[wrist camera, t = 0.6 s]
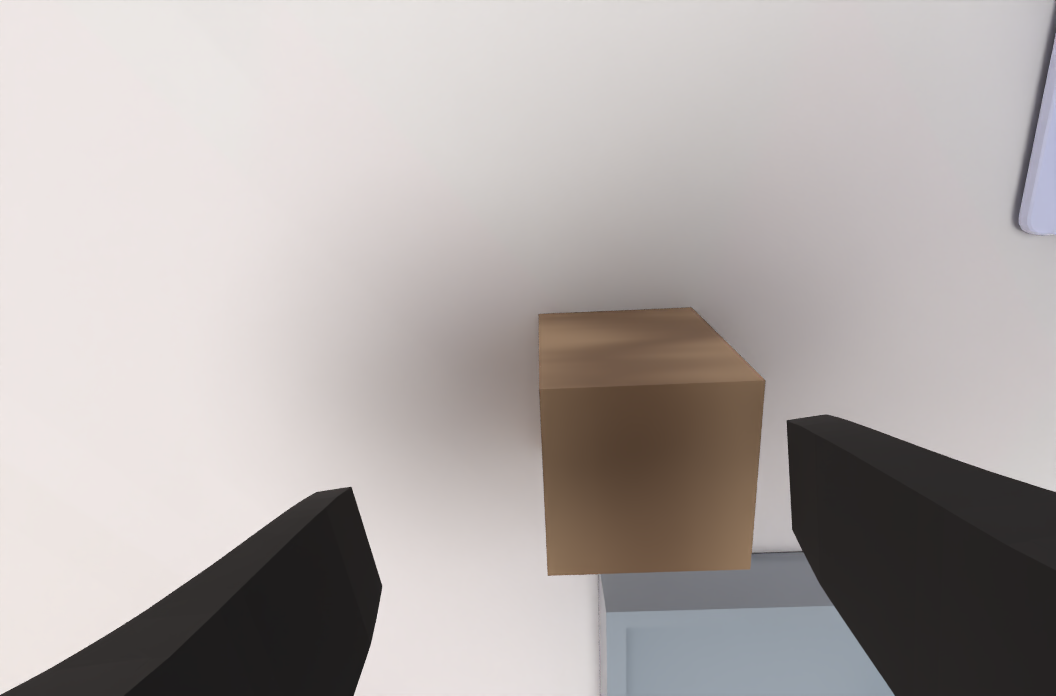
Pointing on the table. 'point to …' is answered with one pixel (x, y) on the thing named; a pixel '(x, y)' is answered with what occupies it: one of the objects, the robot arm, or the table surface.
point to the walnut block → (646, 443)
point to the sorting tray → (729, 634)
